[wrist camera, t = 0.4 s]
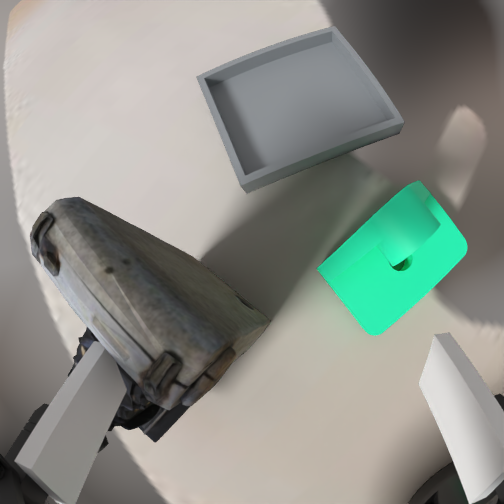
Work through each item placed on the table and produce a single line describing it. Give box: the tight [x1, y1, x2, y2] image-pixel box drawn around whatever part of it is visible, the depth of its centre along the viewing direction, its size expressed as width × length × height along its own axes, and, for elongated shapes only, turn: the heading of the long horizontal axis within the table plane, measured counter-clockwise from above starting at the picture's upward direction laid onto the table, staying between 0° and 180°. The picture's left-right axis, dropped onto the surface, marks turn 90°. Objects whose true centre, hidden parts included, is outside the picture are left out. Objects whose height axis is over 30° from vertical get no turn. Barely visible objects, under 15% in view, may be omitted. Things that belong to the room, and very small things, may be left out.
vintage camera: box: [30, 197, 270, 453], centre depth 19 cm, size 10×15×20 cm, turn 142°
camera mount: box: [317, 180, 467, 335], centre depth 21 cm, size 12×8×10 cm, turn 128°
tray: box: [197, 26, 405, 193], centre depth 28 cm, size 14×16×2 cm
